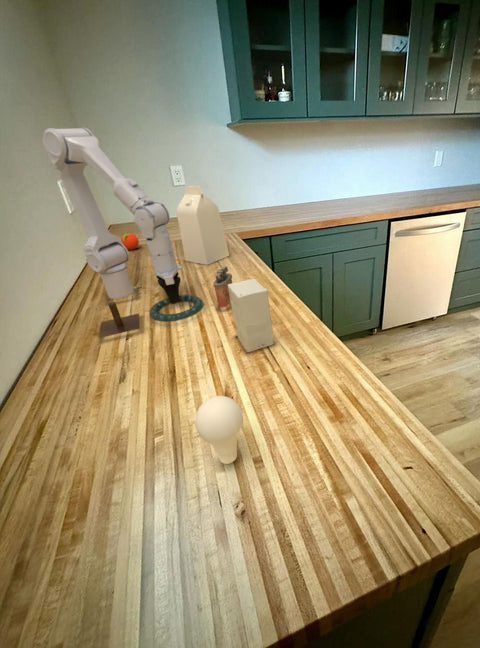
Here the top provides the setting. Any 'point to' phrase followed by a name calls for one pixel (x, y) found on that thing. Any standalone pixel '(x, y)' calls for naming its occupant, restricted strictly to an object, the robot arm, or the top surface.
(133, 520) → the top surface
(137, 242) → the clementine
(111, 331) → the stand
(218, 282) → the lighter
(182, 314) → the ring
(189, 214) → the milk
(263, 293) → the small box
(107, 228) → the robot arm
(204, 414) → the lightbulb
